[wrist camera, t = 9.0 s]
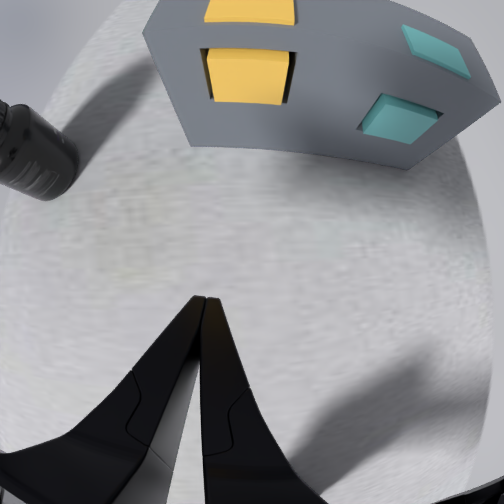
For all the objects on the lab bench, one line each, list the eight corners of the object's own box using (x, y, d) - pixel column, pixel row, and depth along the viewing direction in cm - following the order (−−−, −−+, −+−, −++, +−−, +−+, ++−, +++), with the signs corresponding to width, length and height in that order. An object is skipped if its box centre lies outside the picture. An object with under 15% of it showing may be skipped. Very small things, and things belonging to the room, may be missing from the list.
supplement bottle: (86, 136, 23) (19, 72, 11) (74, 200, 22) (-15, 156, 10) (41, 146, 23) (-26, 99, 11) (28, 204, 22) (-52, 173, 10)
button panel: (407, 170, 23) (503, 99, 9) (190, 146, 23) (140, 28, 9) (399, 117, 23) (472, 36, 10) (200, 93, 23) (171, -24, 9)
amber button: (281, 105, 15) (288, 62, 11) (214, 101, 15) (206, 59, 11) (281, 65, 15) (288, 23, 12) (222, 62, 15) (216, 20, 11)
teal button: (410, 144, 17) (438, 120, 13) (363, 133, 17) (385, 103, 13) (403, 106, 18) (426, 79, 14) (358, 94, 18) (376, 62, 14)
